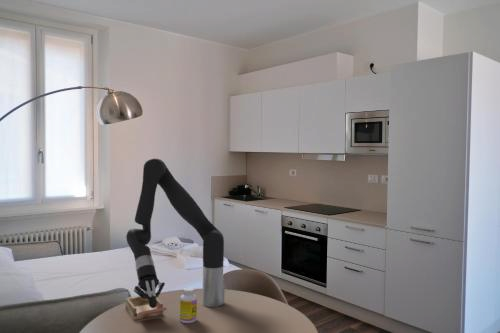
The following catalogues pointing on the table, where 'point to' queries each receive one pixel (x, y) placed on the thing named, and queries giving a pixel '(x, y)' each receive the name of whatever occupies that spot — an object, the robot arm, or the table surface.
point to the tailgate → (152, 311)
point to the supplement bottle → (188, 305)
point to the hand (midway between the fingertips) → (153, 306)
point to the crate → (141, 307)
